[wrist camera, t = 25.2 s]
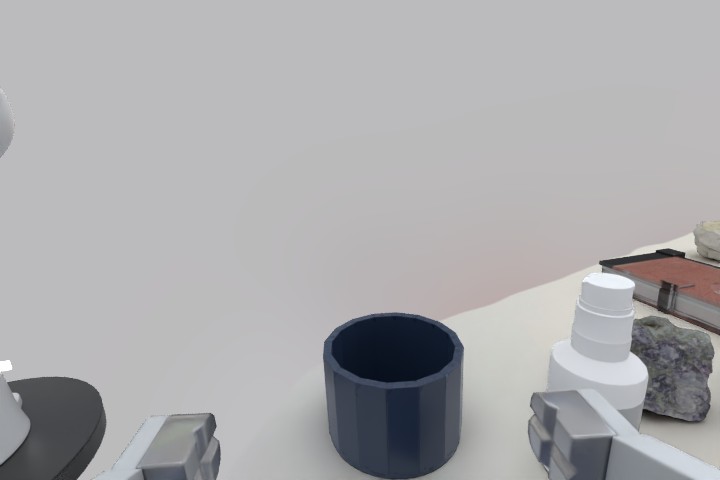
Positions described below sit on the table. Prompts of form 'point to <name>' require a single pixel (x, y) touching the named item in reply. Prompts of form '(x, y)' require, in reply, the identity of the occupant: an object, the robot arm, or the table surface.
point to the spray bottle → (602, 348)
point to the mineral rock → (674, 367)
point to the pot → (394, 393)
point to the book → (673, 285)
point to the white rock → (708, 239)
